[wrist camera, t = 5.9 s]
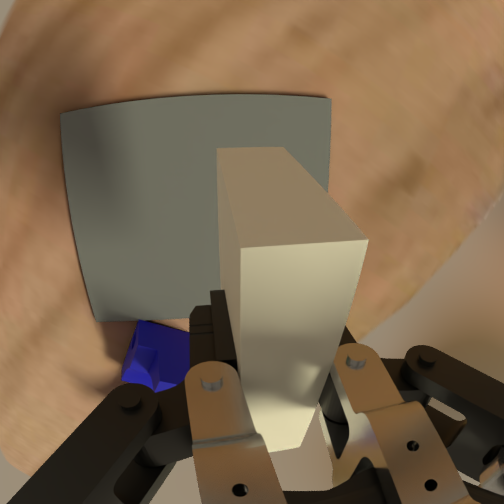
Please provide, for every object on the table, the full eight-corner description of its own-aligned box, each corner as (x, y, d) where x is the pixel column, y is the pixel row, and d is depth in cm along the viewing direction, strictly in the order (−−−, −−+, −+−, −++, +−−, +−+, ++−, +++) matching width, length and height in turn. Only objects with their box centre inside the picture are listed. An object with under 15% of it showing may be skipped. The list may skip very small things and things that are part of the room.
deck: (216, 148, 10) (240, 248, 5) (284, 146, 10) (369, 239, 5) (223, 339, 15) (241, 455, 10) (269, 335, 15) (300, 446, 10)
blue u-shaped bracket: (138, 319, 23) (137, 376, 18) (191, 333, 25) (201, 388, 20) (110, 404, 27) (109, 453, 22) (152, 412, 29) (156, 461, 23)
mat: (62, 113, 17) (60, 113, 16) (329, 99, 19) (331, 98, 19) (97, 319, 23) (96, 321, 23) (315, 303, 26) (316, 306, 25)
